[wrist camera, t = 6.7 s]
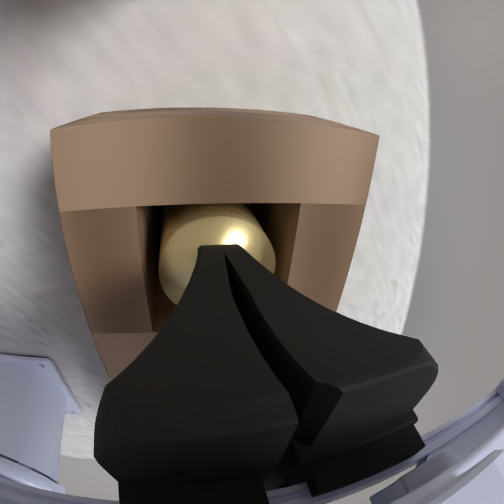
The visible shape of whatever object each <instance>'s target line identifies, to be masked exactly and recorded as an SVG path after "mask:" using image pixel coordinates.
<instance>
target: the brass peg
mask: <svg viewBox="0 0 504 504" xmlns="http://www.w3.org/2000/svg"><path fill="white" fill-rule="evenodd" d="M222 244H239V245H240V246H241V247H242V248H243V249H245V250H246V251H247V252H248V253H249V254H250V255H251V256H252V257H254V258H255V259H256V260H257V261H258V262H259V263H260V264H262V265H263V266H264V267H265V268H266V269H268V270H269V271H270V272H271V273H273V274H274V272H275V264H276V261H275V254H274V250H273V247H272V245H271V243H270V241H269V239H268V238H267V236H266V234H265V232H264V231H263V229H262V227H261V226H260V224H259V222H258V221H257V219H256V217H255V215H254V214H253V212H252V210H251V209H250V207H249V205H248V204H247V203H215V204H179V205H164V209H163V219H162V229H161V241H160V254H159V279H160V283H161V286H162V288H163V290H164V292H165V294H166V295H167V296H168V298H169V299H170V300H171V301H172V302H173V303H174V304H176V305H177V304H178V302H179V301H180V299H181V297H182V295H183V293H184V291H185V289H186V287H187V285H188V282H189V280H190V278H191V275H192V272H193V270H194V267H195V264H196V260H197V255H198V250H197V249H198V248H199V247H200V246H201V245H222Z"/></svg>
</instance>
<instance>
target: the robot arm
mask: <svg viewBox="0 0 504 504" xmlns="http://www.w3.org/2000/svg"><path fill="white" fill-rule="evenodd" d="M197 250H198V255H197V260H196V264H195V267H194V270H193V272H192V275H191V278H190V280H189V282H188V285H187V287H186V289H185V291H184V293H183V295H182V297H181V299H180V301H179V302H178V304H177V306H176V308H175V309H174V311H173V312H172V314H171V315H170V317H169V318H168V320H167V321H166V323H165V324H164V325H163V327H162V328H161V330H160V331H159V332H158V333H157V335H156V336H155V337H154V338H153V340H152V341H151V342H150V343H149V344H148V345H147V346H146V347H145V349H144V350H143V351H142V352H141V353H140V354H139V355H138V356H137V357H136V358H135V359H134V360H133V361H132V362H131V363H130V364H129V365H128V366H127V367H126V368H125V369H124V370H123V371H122V372H121V373H119V374H118V375H117V376H116V377H115V378H114V379H113V380H112V381H111V382H109V383H108V384H107V385H106V386H105V389H104V391H103V394H102V397H101V401H100V404H99V408H98V412H97V416H96V421H95V430H94V458H95V459H96V461H97V462H98V463H99V464H100V465H101V466H102V467H103V468H104V469H105V470H106V471H107V472H108V473H109V474H110V475H111V476H112V477H113V478H114V479H116V480H117V481H118V486H119V487H118V488H119V501H113V500H102V499H93V498H87V497H79V496H74V495H68V494H65V493H66V490H65V489H66V487H65V486H62V485H60V484H58V477H59V461H60V449H61V439H62V430H63V422H64V415H65V414H75V415H80V414H82V409H81V408H80V406H79V405H78V403H77V402H76V400H75V399H74V397H73V396H72V394H71V392H70V391H69V389H68V388H67V386H66V384H65V383H64V381H63V379H62V378H61V376H60V374H59V372H58V371H57V369H56V367H55V365H54V363H53V362H52V361H51V360H50V359H48V358H37V357H25V356H14V355H5V354H0V504H326V503H329V502H332V501H335V500H337V499H340V498H343V497H346V496H348V495H351V494H353V493H356V492H359V491H361V490H364V489H366V488H368V487H371V486H373V485H375V484H377V483H379V482H382V481H384V480H386V479H388V478H390V477H392V476H394V475H396V474H398V473H400V472H402V471H404V470H406V469H408V468H410V467H412V466H414V465H415V464H417V463H418V464H417V465H416V468H415V469H414V470H411V471H410V472H408V473H406V474H405V475H403V476H401V477H400V478H399V479H398V480H397V481H395V482H394V483H392V484H391V485H389V486H388V487H386V488H385V489H383V490H381V491H379V492H377V493H376V494H374V495H373V496H371V497H370V501H371V503H372V504H504V378H503V379H502V380H501V382H500V383H499V384H498V385H497V386H496V389H495V390H493V391H492V392H491V393H489V394H488V395H487V396H485V397H484V398H482V399H481V400H479V401H478V402H477V403H475V404H474V405H473V406H471V407H469V408H468V409H466V410H465V411H463V412H462V413H460V414H459V415H457V416H455V417H454V418H452V419H451V420H449V421H447V422H446V423H444V424H442V425H441V426H439V427H437V428H435V429H434V430H432V431H430V432H428V433H426V434H425V435H423V436H420V435H419V433H418V431H417V430H416V428H415V426H414V425H413V424H415V423H416V422H417V421H418V417H417V416H416V414H415V412H414V411H413V408H414V407H415V406H416V405H417V404H418V403H419V401H420V400H421V399H422V397H423V396H424V395H425V394H426V393H427V391H428V390H429V389H430V387H431V386H432V384H433V383H434V381H435V379H436V377H437V374H438V364H437V363H436V362H435V360H434V359H433V358H432V356H431V355H430V354H429V352H428V351H427V350H426V348H425V347H424V346H423V344H422V343H421V342H420V341H419V340H418V339H414V338H411V337H407V336H403V335H399V334H395V333H391V332H387V331H384V330H380V329H377V328H375V327H372V326H369V325H366V324H363V323H360V322H358V321H355V320H353V319H350V318H348V317H345V316H343V315H341V314H339V313H337V312H335V311H332V310H330V309H328V308H326V307H324V306H322V305H320V304H318V303H317V302H315V301H313V300H311V299H310V298H308V297H306V296H305V295H303V294H301V293H300V292H298V291H296V290H295V289H293V288H292V287H291V286H289V285H288V284H286V283H285V282H283V281H282V280H281V279H279V278H278V277H277V276H275V275H274V274H273V273H271V272H270V271H269V270H268V269H266V268H265V267H264V266H263V265H262V264H260V263H259V262H258V261H257V260H256V259H255V258H254V257H252V256H251V255H250V254H249V253H248V252H247V251H246V250H245V249H243V248H242V247H241V246H240V245H239V244H222V245H201V246H200V247H199V248H198V249H197Z"/></svg>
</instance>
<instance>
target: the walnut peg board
mask: <svg viewBox="0 0 504 504" xmlns="http://www.w3.org/2000/svg"><path fill="white" fill-rule="evenodd" d="M50 138H51V152H52V163H53V172H54V181H55V188H56V195H57V202H58V208H59V214H60V219H61V225H62V230H63V235H64V240H65V244H66V249H67V253H68V257H69V261H70V265H71V269H72V273H73V277H74V280H75V284H76V287H77V291H78V294H79V298H80V301H81V304H82V307H83V310H84V313H85V316H86V319H87V322H88V325H89V328H90V331H91V334H92V336H93V339H94V342H95V344H96V347H97V350H98V352H99V355H100V357H101V360H102V362H103V365H104V367H105V369H106V372H107V374H108V376H109V379H110V381H112V380H113V379H114V378H115V377H116V376H117V375H118V374H119V373H121V372H122V371H123V370H124V369H125V368H126V367H127V366H128V365H129V364H130V363H131V362H132V361H133V360H134V359H135V358H136V357H137V356H138V355H139V354H140V353H141V352H142V351H143V350H144V349H145V347H146V346H147V345H148V344H149V343H150V342H151V341H152V340H153V338H154V337H155V336H156V335H157V333H158V332H159V331H160V330H161V328H162V327H163V325H164V324H165V323H166V321H167V320H168V318H169V317H170V315H171V314H172V312H173V311H174V309H175V308H176V306H177V305H176V304H174V303H173V302H172V301H171V300H170V299H169V298H168V296H167V295H166V294H165V292H164V290H163V288H162V286H161V283H160V279H159V254H160V252H157V244H156V231H155V215H154V205H179V204H215V203H252V207H251V210H252V212H253V214H254V215H255V217H256V219H257V221H258V222H259V224H260V226H261V227H262V229H263V231H264V232H265V234H266V236H267V238H268V239H269V241H270V243H271V245H272V247H273V250H274V254H275V261H276V264H275V272H274V275H275V276H277V277H278V278H279V279H281V280H282V281H283V282H285V283H286V284H288V285H289V286H291V287H292V288H293V289H295V290H296V291H298V292H300V293H301V294H303V295H305V296H306V297H308V298H310V299H311V300H313V301H315V302H317V303H318V304H320V305H322V306H324V307H326V308H328V309H330V310H332V311H335V312H336V311H337V308H338V304H339V301H340V298H341V295H342V292H343V288H344V285H345V282H346V278H347V275H348V271H349V268H350V264H351V261H352V257H353V254H354V250H355V246H356V242H357V238H358V235H359V231H360V227H361V223H362V218H363V214H364V210H365V206H366V201H367V197H368V192H369V188H370V183H371V178H372V173H373V168H374V163H375V158H376V152H377V147H378V141H379V135H376V134H373V133H370V132H367V131H363V130H360V129H357V128H354V127H350V126H347V125H343V124H340V123H336V122H333V121H329V120H325V119H322V118H318V117H314V116H310V115H303V114H295V113H285V112H275V111H264V110H250V109H231V108H155V109H137V110H124V111H113V112H103V113H98V114H95V115H92V116H88V117H85V118H82V119H79V120H76V121H73V122H70V123H67V124H64V125H62V126H59V127H56V128H53V129H51V130H50Z"/></svg>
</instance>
